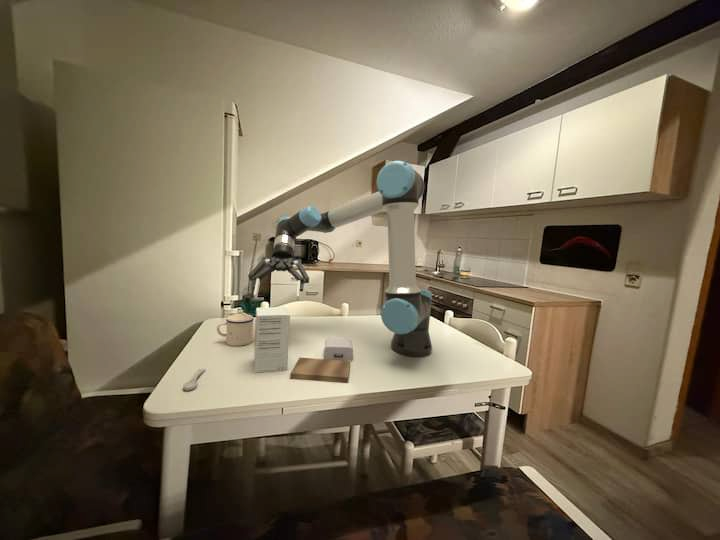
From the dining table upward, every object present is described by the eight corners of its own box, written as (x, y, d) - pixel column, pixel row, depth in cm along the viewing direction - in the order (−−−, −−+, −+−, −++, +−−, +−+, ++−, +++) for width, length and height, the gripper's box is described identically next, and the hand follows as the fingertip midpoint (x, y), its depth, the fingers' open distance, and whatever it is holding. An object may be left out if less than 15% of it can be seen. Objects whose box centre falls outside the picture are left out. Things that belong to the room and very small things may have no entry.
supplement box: (253, 359, 91) (255, 307, 89) (284, 357, 94) (286, 306, 92) (254, 373, 82) (256, 315, 80) (288, 370, 85) (290, 314, 83)
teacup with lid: (253, 337, 110) (254, 307, 109) (252, 346, 102) (253, 313, 101) (218, 338, 106) (219, 307, 105) (214, 347, 98) (215, 314, 97)
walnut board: (349, 365, 91) (350, 361, 91) (347, 382, 80) (348, 377, 80) (299, 362, 91) (299, 357, 91) (290, 378, 80) (290, 373, 80)
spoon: (180, 393, 70) (181, 385, 70) (196, 374, 81) (196, 367, 81) (194, 392, 70) (194, 384, 70) (208, 373, 82) (208, 366, 82)
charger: (349, 344, 110) (352, 361, 95) (324, 344, 109) (323, 360, 94) (350, 332, 109) (353, 347, 94) (325, 332, 108) (324, 346, 93)
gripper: (316, 258, 114) (314, 305, 100) (250, 254, 110) (238, 302, 96) (317, 245, 108) (315, 292, 95) (247, 240, 104) (234, 289, 91)
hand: (276, 297), depth 95 cm, fingers open, 13 cm apart
